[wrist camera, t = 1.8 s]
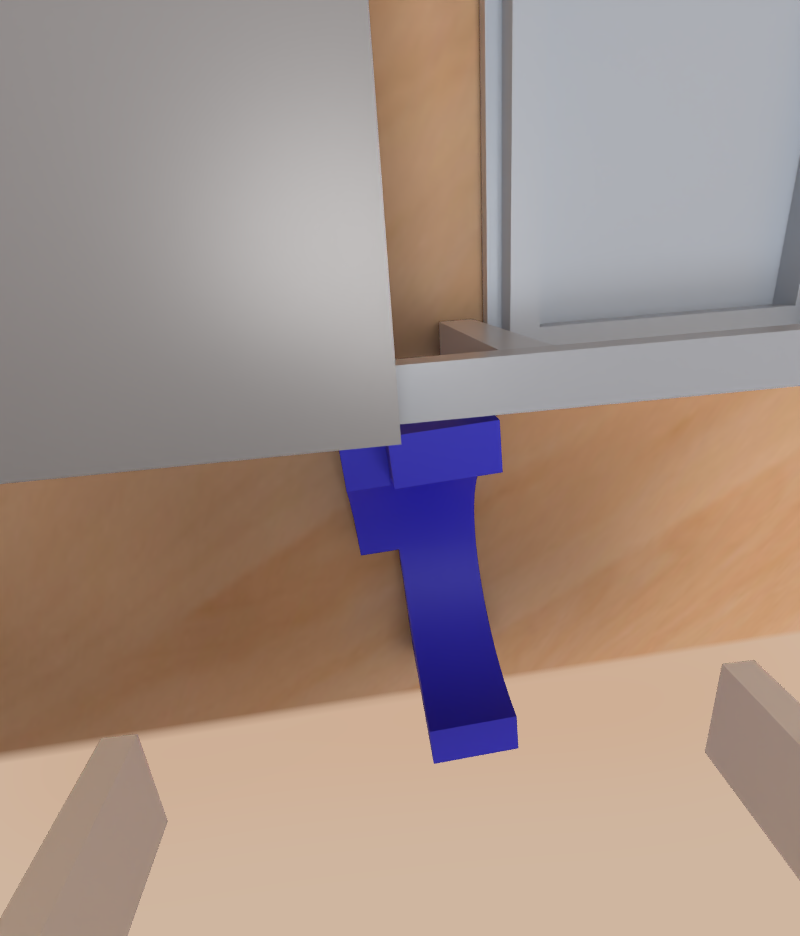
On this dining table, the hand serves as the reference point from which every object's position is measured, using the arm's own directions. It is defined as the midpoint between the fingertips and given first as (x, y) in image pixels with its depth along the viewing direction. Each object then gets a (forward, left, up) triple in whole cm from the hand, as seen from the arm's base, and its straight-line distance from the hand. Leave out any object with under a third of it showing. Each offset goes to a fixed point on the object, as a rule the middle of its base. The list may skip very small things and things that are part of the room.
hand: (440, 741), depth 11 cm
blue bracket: (+1, 0, -10) cm, 10 cm away
